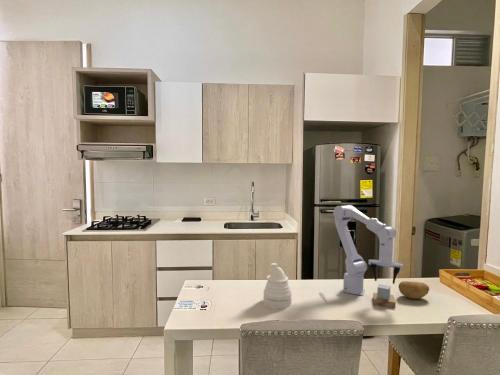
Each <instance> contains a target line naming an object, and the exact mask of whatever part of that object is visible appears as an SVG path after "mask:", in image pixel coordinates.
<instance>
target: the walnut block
mask: <svg viewBox="0 0 500 375" xmlns="http://www.w3.org/2000/svg"><path fill="white" fill-rule="evenodd" d="M372 301H373V305H374V306H377V307H378V306H379V307H386V308H393V309H395V308H396V306H397V305H396V299H395V296H394V294H390V298H389V300H386V299H381V298H377V292H373V293H372Z"/></svg>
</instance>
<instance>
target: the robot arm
mask: <svg viewBox="0 0 500 375" xmlns="http://www.w3.org/2000/svg"><path fill="white" fill-rule="evenodd" d="M332 214H333V217H334V223H335V228H336V230H337V233H338V234H337V235H338V237H339V239H340V241H341V244H342V248H343V250H344V252H345V255H346V258H345V260H344V263H345V264H344V265H345V271H346V272H345V273H344V274H343V286H342V288H343V289H342V293H348V294H353V295H358V296H363V295H364V293H365V292H366V291H365V290H366V289H364V280H365V279H364V275H365V272H366V271H367V270H368V265H369V266H370V269H371V271H372V273H373V277H374V281H375V282H377V280H378V266H379V267H387V268H393V270H392V271H393V274H392V275H393V276H392V277H393V278H392V285H395V282H396V279H397V277H398V274H399V272H400V270H403V269H404V268H403V267H404V264H403V263H399V262H394V261H393V255H394V254H393V253H394V239H395V238H396V236H397V231H396V229H395V228H394V227H393V226H392V225H388V226H387V224H386V223H383V222H381V221H379V219H378V218H376V217H375V218H374V217H371V218H370V217H368V216H367V215H365V214H364V213H363V212H361V211H360V210H358V209H357V208H356V207H355V206H353V205H352V204H348V205H347V204H346V205H337V206H335V207H334V210H333V212H332ZM352 218H354V219H355V220H357V221H359V222H361V223H363V224H364V225H365V227H366V229H368V230H369V231H370V232H373V233H374V234H375V235H377V237H378V240H379V251H378V259H368V264H367V263H366V261H365V260H364V259H363V257H362V255H360V254H358V251H357V248H356V246H355V244H354V243H355V242H354V241H353V238H352V236H351V233H350V230H349V226H348V222H350V220H351V219H352Z"/></svg>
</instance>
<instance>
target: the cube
mask: <svg viewBox="0 0 500 375" xmlns="http://www.w3.org/2000/svg"><path fill="white" fill-rule="evenodd" d="M376 293H377V298H381V299H386V300H389V298H390V295H391V285H387V284H381V283H378V285H377V291H376Z"/></svg>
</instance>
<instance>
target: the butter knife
mask: <svg viewBox="0 0 500 375" xmlns="http://www.w3.org/2000/svg"><path fill="white" fill-rule="evenodd" d="M318 295H319V296H320V298H321V299H322V300H323V301H324V302H325V304H327V305H329V303H328V301H327V298H326V296H325V294H324V293H323V292H321V291H320V292H319V293H318Z"/></svg>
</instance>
